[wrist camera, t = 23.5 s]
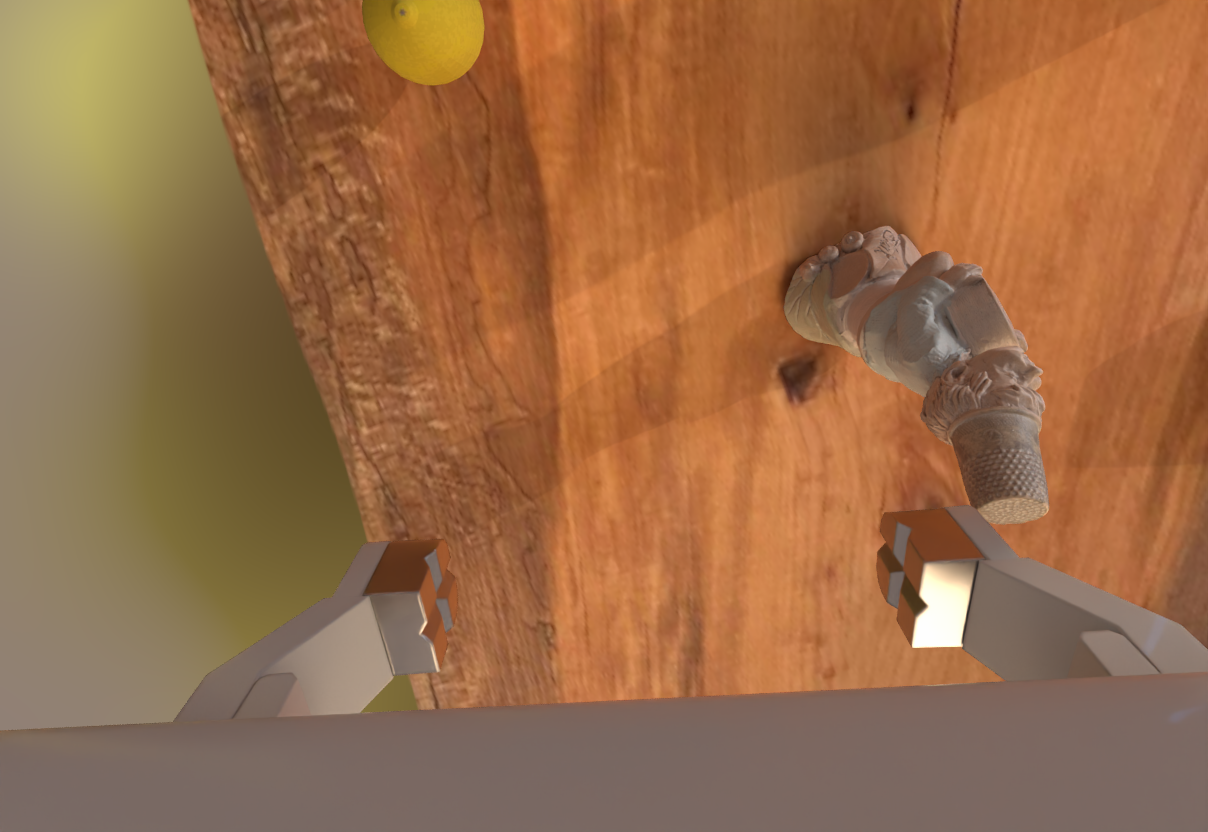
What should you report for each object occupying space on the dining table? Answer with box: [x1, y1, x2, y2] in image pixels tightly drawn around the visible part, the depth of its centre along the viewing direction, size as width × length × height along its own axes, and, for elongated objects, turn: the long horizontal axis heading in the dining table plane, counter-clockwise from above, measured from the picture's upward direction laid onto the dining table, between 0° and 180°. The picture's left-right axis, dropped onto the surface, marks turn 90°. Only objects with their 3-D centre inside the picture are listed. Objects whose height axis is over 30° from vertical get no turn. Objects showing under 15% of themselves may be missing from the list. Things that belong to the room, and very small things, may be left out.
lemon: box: [362, 0, 484, 85], centre depth 32 cm, size 6×6×8 cm
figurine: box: [784, 226, 1049, 525], centre depth 33 cm, size 9×8×20 cm
